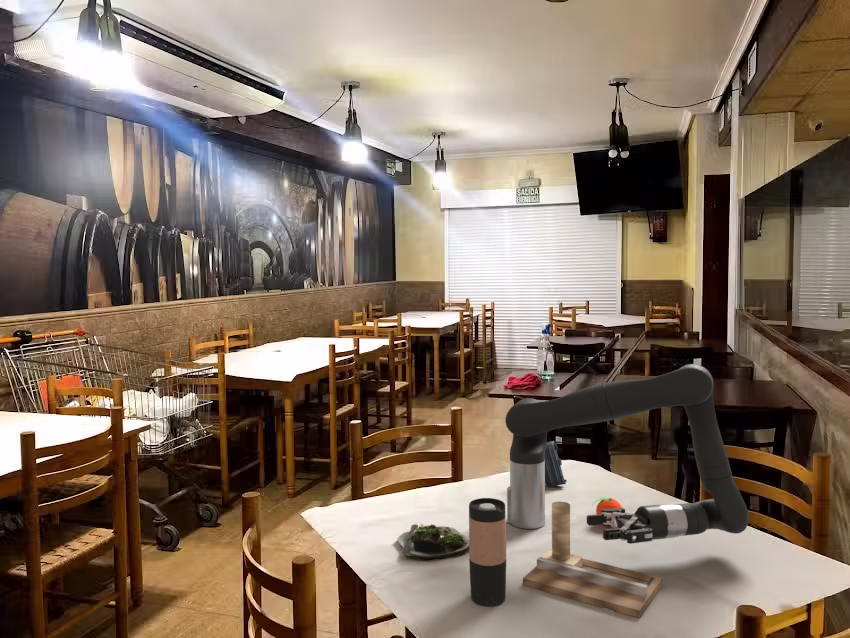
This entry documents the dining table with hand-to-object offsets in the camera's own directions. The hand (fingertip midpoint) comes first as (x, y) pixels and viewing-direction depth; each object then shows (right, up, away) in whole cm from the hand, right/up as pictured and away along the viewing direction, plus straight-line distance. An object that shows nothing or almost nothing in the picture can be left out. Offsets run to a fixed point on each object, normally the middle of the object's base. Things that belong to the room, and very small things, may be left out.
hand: (595, 527), depth 149 cm
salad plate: (-36, -10, +14) cm, 40 cm away
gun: (-2, -5, +58) cm, 59 cm away
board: (-2, -10, -7) cm, 12 cm away
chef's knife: (-2, -11, -12) cm, 16 cm away
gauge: (-8, -8, -1) cm, 11 cm away
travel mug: (-25, -11, -12) cm, 30 cm away
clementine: (+10, -8, +26) cm, 29 cm away
